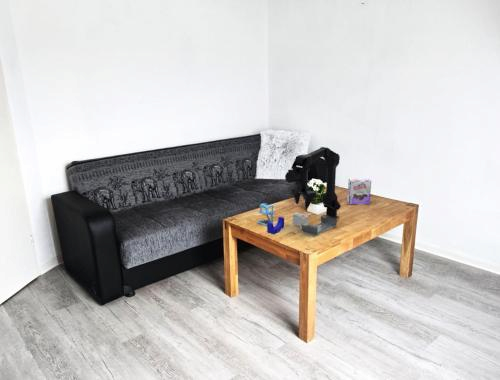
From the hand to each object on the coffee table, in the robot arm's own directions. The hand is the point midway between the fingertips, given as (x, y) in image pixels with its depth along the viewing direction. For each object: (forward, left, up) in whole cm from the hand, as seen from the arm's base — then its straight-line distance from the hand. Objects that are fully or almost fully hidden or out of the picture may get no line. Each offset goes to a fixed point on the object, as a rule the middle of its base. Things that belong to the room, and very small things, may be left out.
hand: (301, 206), depth 222 cm
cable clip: (+10, -9, -14) cm, 20 cm away
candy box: (-61, -2, -14) cm, 62 cm away
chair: (+6, -21, -14) cm, 26 cm away
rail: (-7, +7, -14) cm, 17 cm away
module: (-5, -5, -14) cm, 15 cm away
